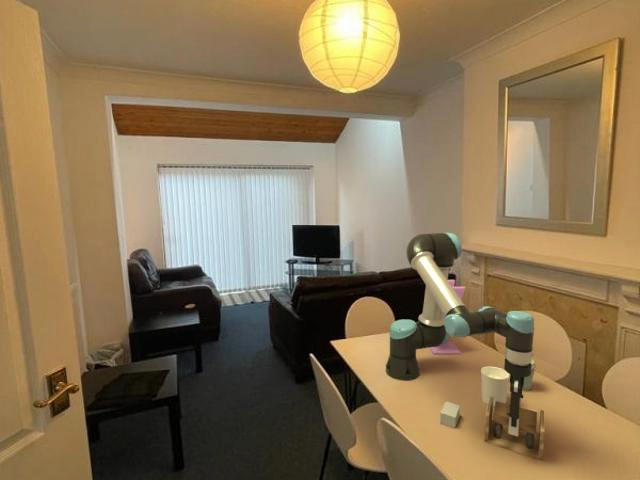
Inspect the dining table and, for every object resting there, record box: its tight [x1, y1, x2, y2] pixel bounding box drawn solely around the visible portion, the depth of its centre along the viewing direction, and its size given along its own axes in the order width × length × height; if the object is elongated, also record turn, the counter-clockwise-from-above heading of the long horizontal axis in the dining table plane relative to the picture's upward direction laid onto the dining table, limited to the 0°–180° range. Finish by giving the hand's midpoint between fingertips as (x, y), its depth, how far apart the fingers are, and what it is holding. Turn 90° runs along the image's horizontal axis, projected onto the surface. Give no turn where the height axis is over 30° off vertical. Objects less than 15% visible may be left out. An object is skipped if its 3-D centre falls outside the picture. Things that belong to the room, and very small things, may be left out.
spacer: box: [439, 401, 461, 429], centre depth 124 cm, size 8×5×4 cm, turn 148°
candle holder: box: [480, 365, 510, 408], centre depth 134 cm, size 10×10×12 cm
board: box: [492, 401, 538, 435], centre depth 113 cm, size 12×8×3 cm, turn 58°
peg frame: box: [484, 396, 545, 462], centre depth 113 cm, size 16×12×10 cm
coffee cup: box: [522, 359, 537, 392], centre depth 143 cm, size 8×8×12 cm
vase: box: [429, 279, 466, 356], centre depth 179 cm, size 16×16×35 cm
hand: (514, 424), depth 113 cm, fingers open, 10 cm apart
